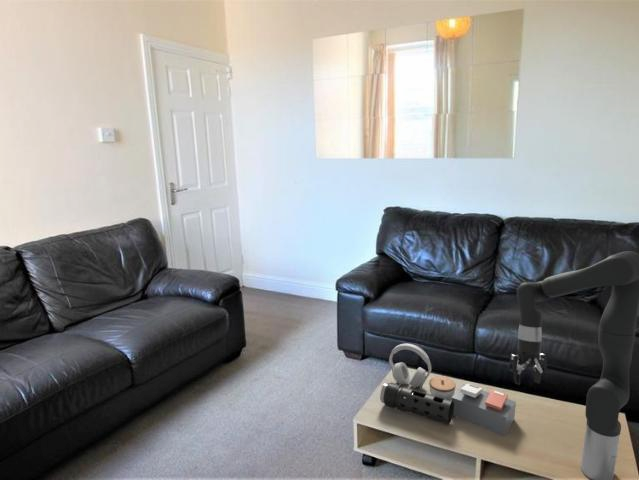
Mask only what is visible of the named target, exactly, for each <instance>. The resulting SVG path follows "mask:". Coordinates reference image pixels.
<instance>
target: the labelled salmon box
mask: <svg viewBox="0 0 639 480" xmlns="http://www.w3.org/2000/svg"><path fill="white" fill-rule="evenodd" d="M489 393H490V394H489V396H488V398H487V399H486V401H485V405H486V406H489V407H491V408H494V409H497V410H500V411H501V410H502V408H503V406H504V404H505V402H506V400H507V399H509V393H507V392H502V391H500V390H497V389H495V388H492V389H491V390H490V392H489Z"/></svg>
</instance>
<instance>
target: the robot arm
mask: <svg viewBox="0 0 639 480" xmlns="http://www.w3.org/2000/svg"><path fill="white" fill-rule="evenodd" d="M599 287H601V288H602V287H612V288H611V289H612V290H611V295H610V297H609V300H608V302H607V304H606V306H605V307H604V310H603V313H602V315H601V318H600V321H599V327H598V334H597V335H598V337H597V342H598V343H597V344H598V346H599V347H598V348H599V351H600V353H601V356H602V363H603V364H602V370H601V373H600V374H601V375H600V378H599V380H598V381H597V382H596V383H595V384H593V385H592V386H590V387H589V389H588V391H587V394H586V402H585V411H584V412H585V414H584V415H585V418H586V423H585V425H586V426H585V431H584V438H583V439H584V440H583V446H582V452H581V461H580V470H581V472H582V473H583V475H585V476H586V477H587V478H589V479H590V480H614V476H615V471H616V465H617V458H618V453H619V452H618V451H619V444H620V438H621V430H622V424H621V422H620V421H619V415H620V410H621V409H622V408H623V407H624V406H625V405H627V404H628V402H629V399H630V391H631V390H630V369H631V363H632V357H633V352H634V351H633V350H634V346H635V345H634V344H635V340H636V338H635V337H636V331H637V330H636V329H637V321H638V320H637V319H638V313H639V311H638V310H639V253H638V252H636V251H634V250H633V251H632V250H627V251H625V250H624V251H621V252H618V253H615V254H611V255H609V256H608V257H607V258H604V259H603V260H600V261H599V262H597V263H595V264H592V265H590V266H588V267H587V266H586V267H585V268H581V269H578V270H571V271H566V272H562V273H561V272H560V273H558V274H555V275H551V276H548V277H545V278H544V279H543V280H542V281H541V280H540V281H537V282H536V281H534V282H533V281H532V282H531V281H528V282H522V283H520V284H519V285H518V287H517V289H516V300H517V305H518V309H519V325H518V326H519V327H518V331H517V332H518V333H517V351H518V353H517V354H514V353H511V354H510V357H509V363H508V364H509V365H508V370H509V372H513V382H514V384H515V385H517V386H518V385H519V386H520V385H521V379H522V378H521V374H522V371H523V370H526V368H533V369H534V371H533V372H534V375H533V382H534V383H536V384H540V383H541V381H542V374H543V372H547V370H548V355H547V354H545V353H542V352H541V351H542V335H543V333H542V321H543V316H542V311H541V310H539V309H537V308H536V305H535V303H542V302H545V301H549V300H551V299H553V298H557V297H558V298H559V297H562V296H565V295H570V294H574V293H577V292H579V291H580V292H581V291H583V290H588V289H592V288H599Z"/></svg>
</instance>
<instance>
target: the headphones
mask: <svg viewBox="0 0 639 480" xmlns="http://www.w3.org/2000/svg"><path fill="white" fill-rule="evenodd" d="M402 350H408V351H412V352H414V353H416V354H417V355H419V357H420V358H421V359H422V360H423V361H424V362H425V363H426V365H427V369H428V371H427V374H426V369H424V368H422V367H420V366H419V367H418V368H417V370H416V371H415V373H414V374H413V376H412V378H411V380H410V371H409V369H408V366H407V364H406V363H405V362H401V361H400V362H397V363H395V364H394V362H393V357H394V355H395V354H397V353H398V352H399V351H402ZM388 363H389V367H390V369H391V372H392V377H393V379H394V380H395V382H396V384H398V385H400V386H401V385H407V384H409V386H411V387H412V388H414V389H415V388H419V390H421V389H422V387H423V386H424V385H425V382H426V381H427V379H428V378H429V376H430V374H431V372H432V363H431V360H430V357H429V355H428V354H427V353H426V351H424V349H422V348H421V347H420V346H418V345H415V344H412V343H407V342H406V343H401V344H398V345H396V346H395V347H394V348H392V350H391V352H390V354H389V359H388Z"/></svg>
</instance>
